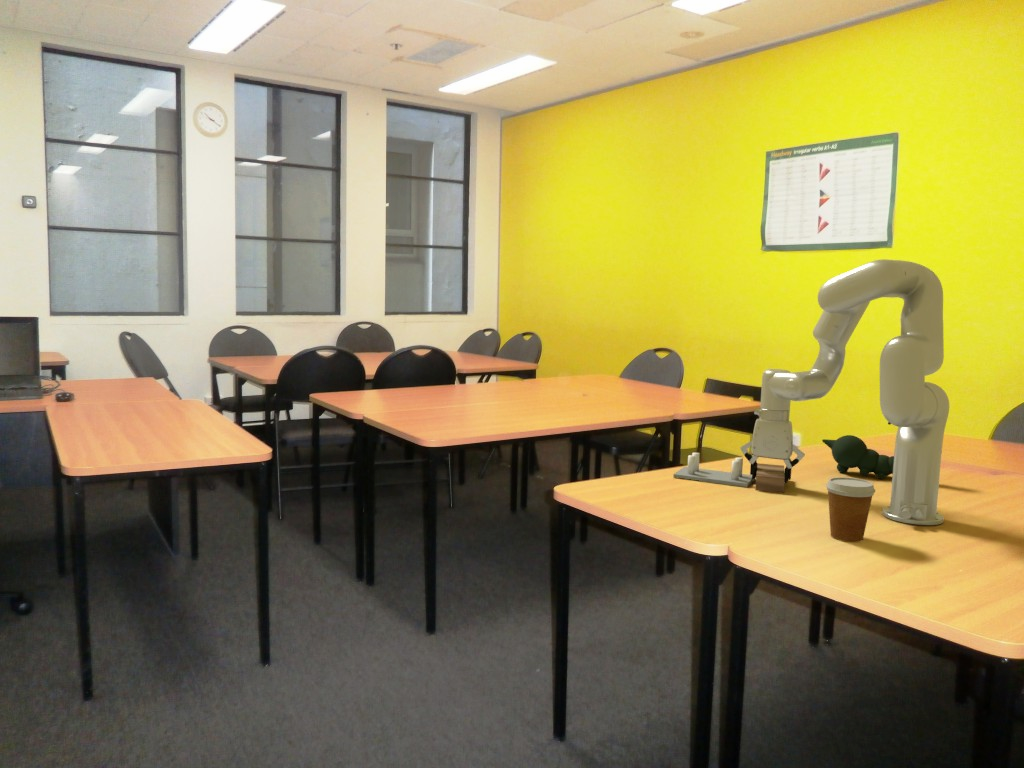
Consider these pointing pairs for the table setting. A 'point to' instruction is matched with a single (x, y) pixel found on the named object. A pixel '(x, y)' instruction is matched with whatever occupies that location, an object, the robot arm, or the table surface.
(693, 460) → the peg rack
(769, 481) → the shelf plank
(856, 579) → the table surface
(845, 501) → the disposable coffee cup
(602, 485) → the table surface
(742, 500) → the table surface
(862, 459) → the toy figurine
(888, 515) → the robot arm
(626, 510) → the table surface
